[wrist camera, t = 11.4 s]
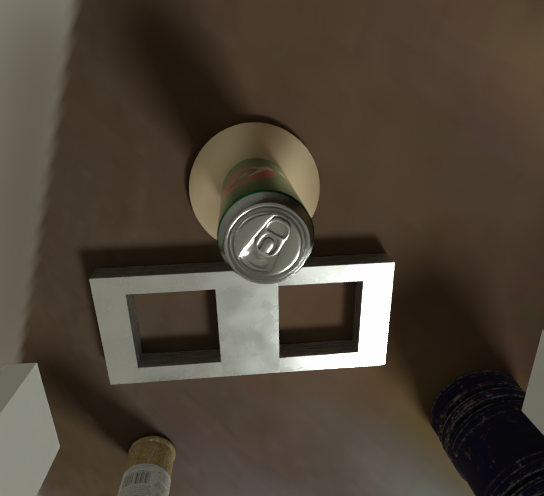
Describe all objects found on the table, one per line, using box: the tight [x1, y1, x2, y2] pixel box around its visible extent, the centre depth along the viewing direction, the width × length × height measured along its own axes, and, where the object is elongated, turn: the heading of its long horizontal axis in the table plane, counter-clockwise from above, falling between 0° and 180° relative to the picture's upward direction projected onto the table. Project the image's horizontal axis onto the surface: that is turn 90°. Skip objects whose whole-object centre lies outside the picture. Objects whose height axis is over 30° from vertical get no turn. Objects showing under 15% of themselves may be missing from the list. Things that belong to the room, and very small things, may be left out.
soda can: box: [217, 158, 314, 284], centre depth 26 cm, size 5×5×12 cm
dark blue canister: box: [430, 370, 544, 496], centre depth 35 cm, size 10×10×15 cm
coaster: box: [189, 122, 320, 240], centre depth 32 cm, size 10×10×1 cm
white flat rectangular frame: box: [89, 253, 395, 385], centre depth 35 cm, size 24×10×2 cm, turn 91°
